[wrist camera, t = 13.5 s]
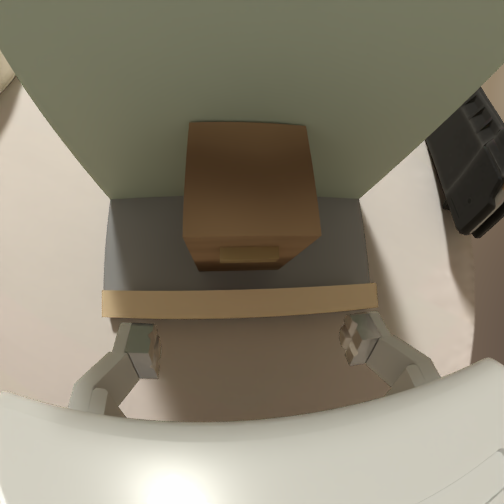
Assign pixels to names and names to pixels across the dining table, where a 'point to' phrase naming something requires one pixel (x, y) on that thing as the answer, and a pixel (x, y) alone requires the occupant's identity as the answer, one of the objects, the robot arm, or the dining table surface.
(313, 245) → the wall board
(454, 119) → the magazine
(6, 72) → the lidded bowl
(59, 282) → the dining table surface
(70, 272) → the dining table surface
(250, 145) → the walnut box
